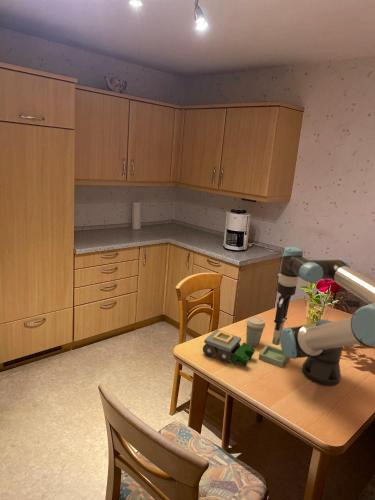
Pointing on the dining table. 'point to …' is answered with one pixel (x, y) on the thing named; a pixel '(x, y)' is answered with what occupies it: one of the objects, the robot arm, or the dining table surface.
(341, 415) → the dining table surface
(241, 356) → the clamp
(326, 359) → the robot arm
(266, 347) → the tray
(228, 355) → the toy cart
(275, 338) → the pin
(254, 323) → the coffee cup
